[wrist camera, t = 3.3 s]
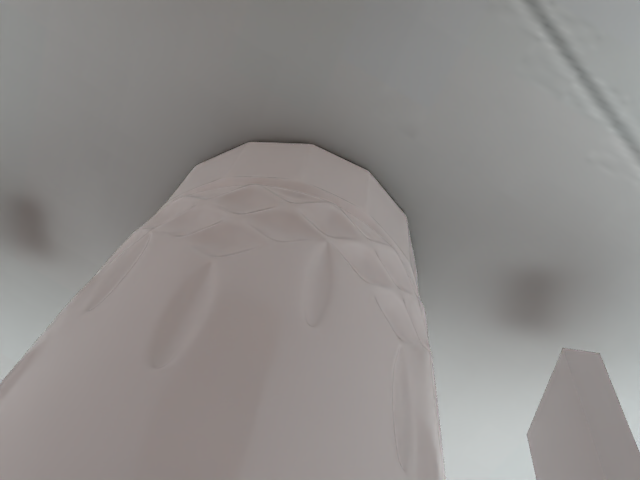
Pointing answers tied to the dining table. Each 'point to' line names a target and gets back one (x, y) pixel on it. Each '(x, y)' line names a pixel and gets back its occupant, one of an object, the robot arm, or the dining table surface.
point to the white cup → (239, 339)
